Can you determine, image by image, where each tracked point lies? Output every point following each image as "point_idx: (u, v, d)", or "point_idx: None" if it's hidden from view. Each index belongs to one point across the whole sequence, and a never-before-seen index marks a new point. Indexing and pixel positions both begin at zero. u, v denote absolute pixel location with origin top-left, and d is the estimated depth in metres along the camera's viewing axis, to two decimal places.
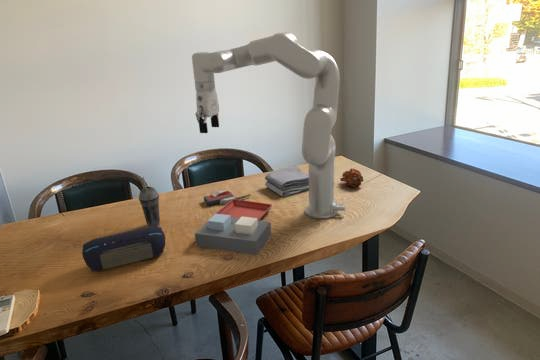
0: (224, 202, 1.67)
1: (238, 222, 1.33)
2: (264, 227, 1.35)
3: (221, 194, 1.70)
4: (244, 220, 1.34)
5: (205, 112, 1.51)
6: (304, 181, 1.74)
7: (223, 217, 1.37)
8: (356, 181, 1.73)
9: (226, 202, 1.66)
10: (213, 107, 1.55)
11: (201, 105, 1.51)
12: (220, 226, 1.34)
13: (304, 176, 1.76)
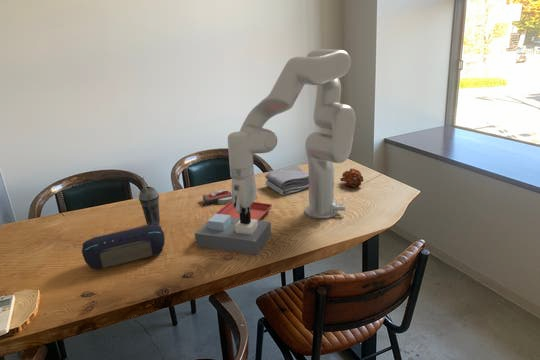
0: (222, 202, 1.67)
1: (238, 223, 1.33)
2: (264, 227, 1.35)
3: (220, 193, 1.71)
4: None
5: (242, 203, 1.25)
6: (304, 180, 1.76)
7: (223, 217, 1.37)
8: (356, 181, 1.73)
9: (224, 202, 1.67)
10: (251, 195, 1.29)
11: (238, 195, 1.25)
12: (220, 226, 1.34)
13: (304, 175, 1.77)
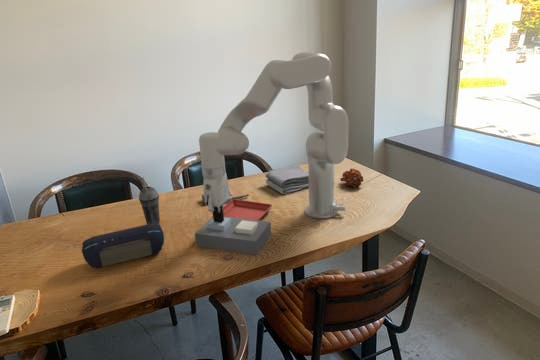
0: None
1: (238, 226, 1.33)
2: (264, 227, 1.35)
3: None
4: (244, 224, 1.35)
5: (214, 202, 1.29)
6: (304, 179, 1.77)
7: None
8: (356, 181, 1.73)
9: None
10: (223, 194, 1.32)
11: (209, 194, 1.28)
12: (221, 229, 1.34)
13: (304, 174, 1.78)
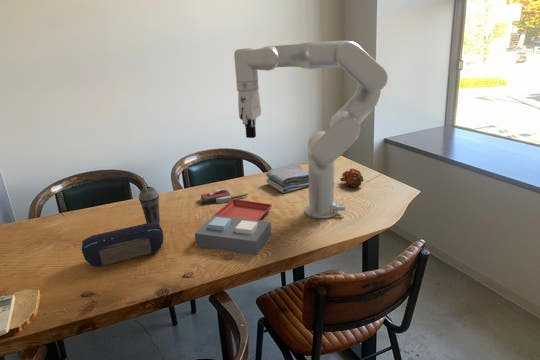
0: (220, 201, 1.68)
1: (238, 226, 1.33)
2: (264, 227, 1.35)
3: (218, 193, 1.72)
4: (244, 224, 1.35)
5: (248, 114, 1.37)
6: (304, 178, 1.78)
7: (224, 220, 1.38)
8: (356, 181, 1.73)
9: (222, 201, 1.68)
10: (256, 109, 1.40)
11: (244, 107, 1.36)
12: (221, 230, 1.35)
13: (304, 173, 1.80)
